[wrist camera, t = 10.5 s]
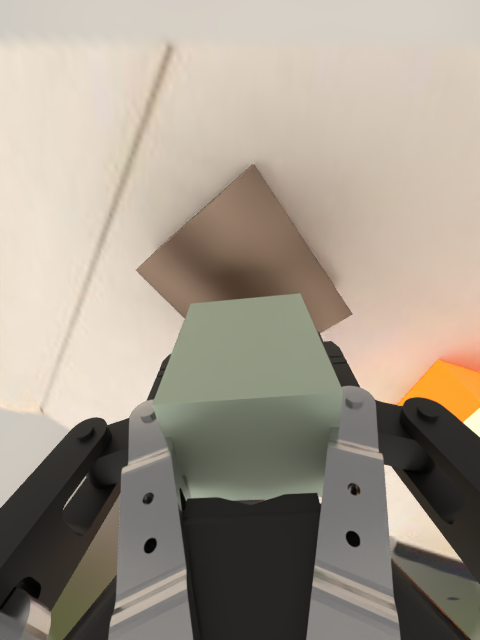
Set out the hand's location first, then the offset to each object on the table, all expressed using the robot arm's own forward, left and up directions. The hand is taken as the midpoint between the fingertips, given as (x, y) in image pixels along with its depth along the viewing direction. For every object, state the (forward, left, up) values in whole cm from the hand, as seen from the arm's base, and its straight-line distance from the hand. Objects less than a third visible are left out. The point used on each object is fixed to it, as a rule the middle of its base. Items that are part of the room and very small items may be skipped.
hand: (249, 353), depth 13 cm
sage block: (0, 0, -1) cm, 1 cm away
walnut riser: (0, 0, -12) cm, 12 cm away
